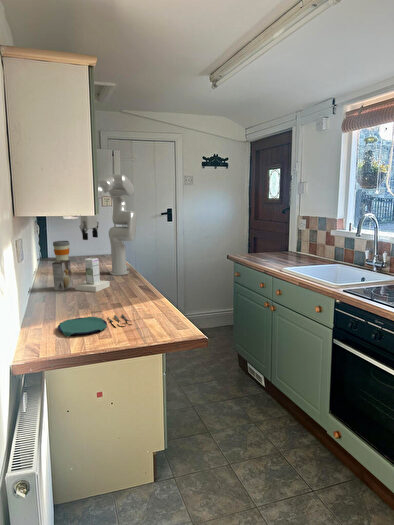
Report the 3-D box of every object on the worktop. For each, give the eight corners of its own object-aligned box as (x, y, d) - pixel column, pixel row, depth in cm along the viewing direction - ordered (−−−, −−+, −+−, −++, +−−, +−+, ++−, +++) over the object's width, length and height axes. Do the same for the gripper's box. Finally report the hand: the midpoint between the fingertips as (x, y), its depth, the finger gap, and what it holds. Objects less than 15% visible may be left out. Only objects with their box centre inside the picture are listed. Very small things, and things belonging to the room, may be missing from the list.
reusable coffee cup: (53, 262, 325) (51, 243, 322) (55, 259, 337) (53, 241, 334) (69, 261, 327) (68, 242, 324) (71, 258, 339) (69, 240, 336)
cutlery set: (54, 325, 177) (54, 320, 177) (123, 316, 190) (123, 311, 190) (61, 341, 160) (61, 335, 159) (136, 329, 173) (136, 324, 172)
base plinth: (89, 284, 249) (89, 279, 248) (109, 286, 244) (109, 281, 244) (75, 290, 236) (74, 284, 235) (96, 291, 231) (95, 286, 231)
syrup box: (100, 282, 241) (99, 257, 238) (93, 284, 235) (92, 259, 233) (92, 281, 243) (91, 257, 240) (85, 283, 238) (84, 259, 235)
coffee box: (62, 286, 245) (60, 259, 242) (72, 286, 244) (70, 260, 241) (54, 290, 236) (51, 262, 233) (64, 290, 235) (62, 263, 232)
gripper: (91, 207, 243) (93, 236, 247) (73, 209, 227) (75, 240, 231) (102, 207, 240) (104, 236, 244) (84, 210, 225) (87, 241, 228)
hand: (90, 238), depth 237 cm, fingers open, 9 cm apart
